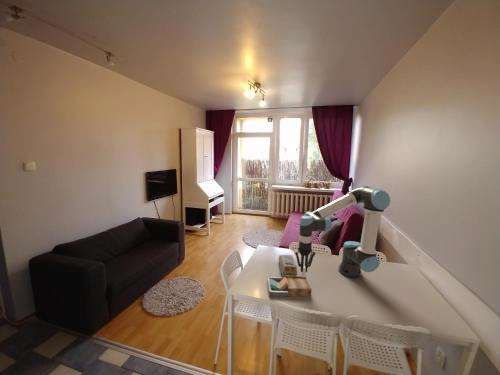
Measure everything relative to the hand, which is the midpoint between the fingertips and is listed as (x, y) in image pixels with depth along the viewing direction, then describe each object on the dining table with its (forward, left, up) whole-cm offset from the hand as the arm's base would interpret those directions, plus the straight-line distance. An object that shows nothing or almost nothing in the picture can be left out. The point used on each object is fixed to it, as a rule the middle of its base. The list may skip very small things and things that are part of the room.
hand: (303, 276), depth 141 cm
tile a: (+12, 0, -6) cm, 13 cm away
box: (+16, 0, -9) cm, 18 cm away
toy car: (+6, -22, -9) cm, 25 cm away
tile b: (+18, 0, -5) cm, 19 cm away
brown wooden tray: (+4, 0, -9) cm, 10 cm away
